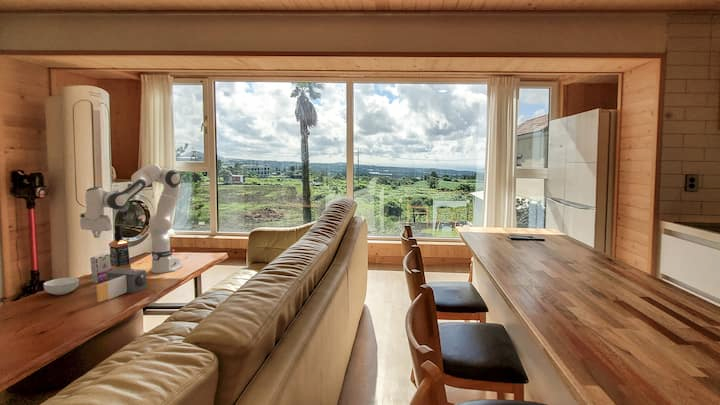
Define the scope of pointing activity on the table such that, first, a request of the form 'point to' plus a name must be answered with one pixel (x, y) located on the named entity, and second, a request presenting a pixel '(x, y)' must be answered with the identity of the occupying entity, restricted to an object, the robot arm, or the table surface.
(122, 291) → the side door
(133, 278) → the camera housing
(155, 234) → the robot arm
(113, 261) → the whiskey bottle
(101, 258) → the candy bar box
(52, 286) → the cereal bowl
